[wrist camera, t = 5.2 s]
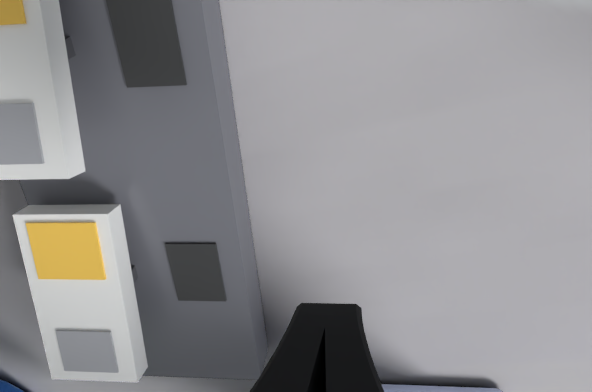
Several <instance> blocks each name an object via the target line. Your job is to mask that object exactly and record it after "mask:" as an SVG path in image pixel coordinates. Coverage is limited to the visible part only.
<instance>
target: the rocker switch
mask: <svg viewBox="0 0 592 392" xmlns="http://www.w3.org/2000/svg"><path fill="white" fill-rule="evenodd" d="M13 219H14V223H15V228H16V232H17V236H18V240H19V244H20V248H21V253H22V257H23V261H24V265H25V269H26V274H27V278H28V282H29V286H30V290H31V294H32V299H33V303H34V307H35V311H36V315H37V319H38V324H39V328H40V332H41V336H42V340H43V344H44V349H45V353H46V357H47V361H48V365H49V370H50V374H51V378H52V379H55V380H81V381H107V382H132V383H138V382H139V380H140V379H141V377H142V375H143V374H144V372H145V371H146V369H147V367H148V364H147V358H146V352H145V346H144V341H143V335H142V329H141V323H140V317H139V311H138V305H137V299H136V293H135V288H134V282H133V276H132V270H131V264H130V258H129V252H128V246H127V240H126V234H125V229H124V223H123V217H122V211H121V205H120V204H88V205H28V206H26V207H25V208H23V209H21V210H20V211H18V212H16V213H14V214H13Z"/></svg>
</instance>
